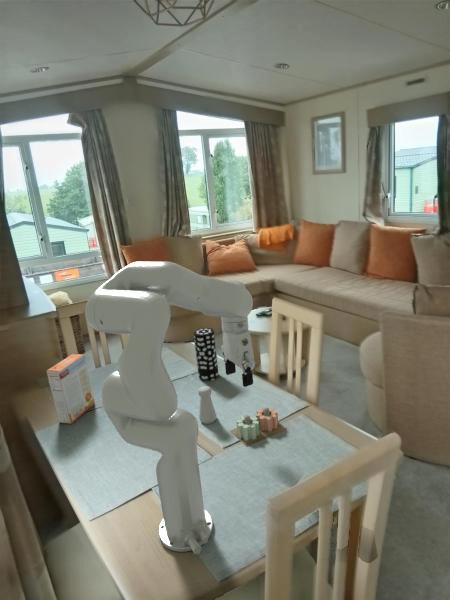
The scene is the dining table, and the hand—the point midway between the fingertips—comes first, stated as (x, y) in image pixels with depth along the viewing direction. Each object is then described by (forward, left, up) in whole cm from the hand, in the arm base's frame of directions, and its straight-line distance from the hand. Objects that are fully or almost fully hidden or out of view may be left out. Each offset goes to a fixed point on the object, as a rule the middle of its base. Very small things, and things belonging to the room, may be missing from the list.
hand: (239, 379), depth 122 cm
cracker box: (+51, +41, -21) cm, 69 cm away
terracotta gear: (0, -9, -20) cm, 22 cm away
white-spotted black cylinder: (+45, -11, -21) cm, 51 cm away
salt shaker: (+15, +5, -21) cm, 26 cm away
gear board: (0, -5, -21) cm, 21 cm away
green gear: (0, -2, -20) cm, 20 cm away
